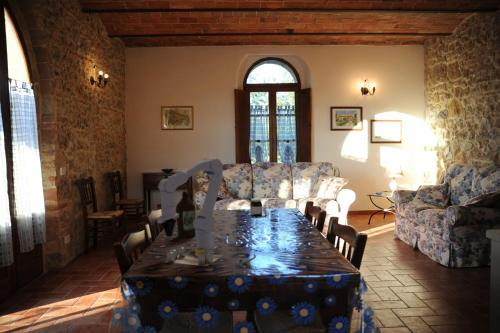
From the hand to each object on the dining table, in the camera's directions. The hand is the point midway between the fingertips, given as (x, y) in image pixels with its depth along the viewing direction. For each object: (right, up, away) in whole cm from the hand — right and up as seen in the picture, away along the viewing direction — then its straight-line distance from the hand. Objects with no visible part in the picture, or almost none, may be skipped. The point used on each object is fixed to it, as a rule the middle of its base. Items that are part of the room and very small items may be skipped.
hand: (169, 236), depth 181 cm
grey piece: (+11, -9, -8) cm, 16 cm away
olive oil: (+1, -8, +44) cm, 45 cm away
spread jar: (+43, -3, +103) cm, 112 cm away
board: (+12, -10, -5) cm, 16 cm away
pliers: (+35, -10, -6) cm, 37 cm away
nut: (+14, -9, 0) cm, 16 cm away
